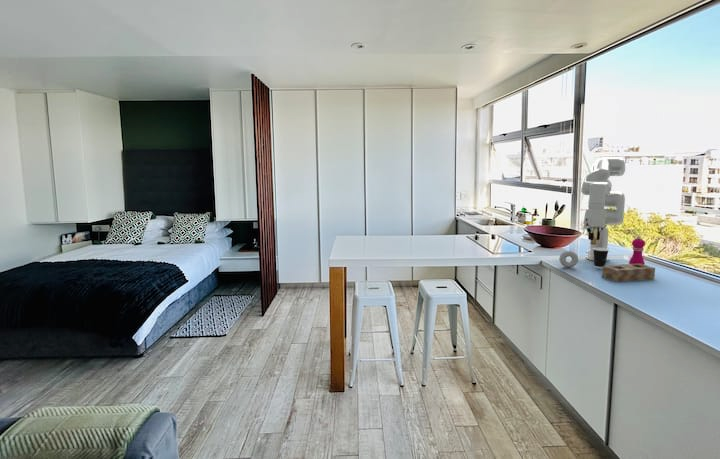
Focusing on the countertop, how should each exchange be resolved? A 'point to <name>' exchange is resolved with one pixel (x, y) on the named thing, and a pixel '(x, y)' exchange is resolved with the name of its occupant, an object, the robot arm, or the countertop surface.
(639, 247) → the pepper mill
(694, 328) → the countertop surface
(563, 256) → the donut
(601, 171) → the robot arm
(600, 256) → the dixie cup
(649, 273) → the hole block
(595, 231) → the brass peg
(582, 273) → the countertop surface
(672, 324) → the countertop surface
